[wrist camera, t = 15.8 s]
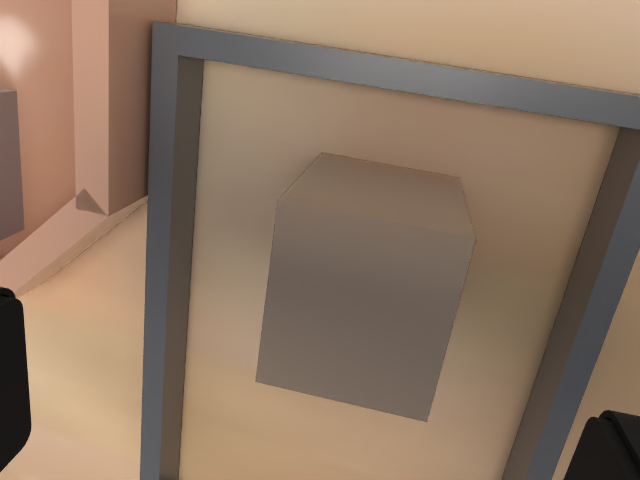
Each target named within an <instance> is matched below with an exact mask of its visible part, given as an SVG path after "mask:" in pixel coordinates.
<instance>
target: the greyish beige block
mask: <svg viewBox="0 0 640 480" xmlns="http://www.w3.org/2000/svg"><path fill="white" fill-rule="evenodd" d="M475 241H476V237H475V233H474V230H473V226H472V223H471V219H470V215H469V212H468V208H467V205H466V201H465V197H464V194H463V190H462V187H461V183H460V179H459V177H454V176H448V175H443V174H437V173H432V172H426V171H421V170H415V169H410V168H404V167H399V166H393V165H388V164H382V163H377V162H371V161H366V160H360V159H355V158H349V157H344V156H338V155H333V154H327V153H321V155H320V156H319V157H318V158H317V159H316V160H315V161H314V162H313V163H312V164H311V165H310V166H309V167H308V168H307V170H306V171H305V172H304V173H303V174H302V175H301V176H300V177H299V178H298V179H297V180H296V181H295V182H294V183H293V184H292V186H291V187H290V188H289V189H288V190H287V191H286V192H285V193H284V194H283V195H282V196H281V197H280V198H279V199H278V202H277V210H276V218H275V227H274V235H273V243H272V251H271V259H270V267H269V275H268V284H267V292H266V300H265V308H264V316H263V324H262V332H261V341H260V349H259V357H258V365H257V373H256V381H255V382H259V383H263V384H267V385H272V386H276V387H280V388H284V389H289V390H293V391H297V392H301V393H306V394H310V395H314V396H318V397H323V398H327V399H331V400H335V401H340V402H344V403H348V404H352V405H357V406H361V407H365V408H369V409H374V410H378V411H382V412H386V413H391V414H395V415H399V416H403V417H407V418H412V419H416V420H420V421H424V422H427V420H428V416H429V413H430V409H431V405H432V401H433V398H434V394H435V390H436V386H437V383H438V379H439V375H440V372H441V368H442V364H443V360H444V357H445V353H446V349H447V345H448V342H449V338H450V334H451V330H452V327H453V323H454V319H455V316H456V312H457V308H458V304H459V301H460V297H461V293H462V289H463V286H464V282H465V278H466V274H467V271H468V267H469V263H470V260H471V256H472V252H473V248H474V245H475Z"/></svg>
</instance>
